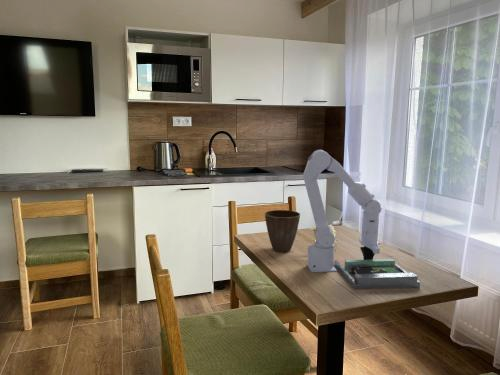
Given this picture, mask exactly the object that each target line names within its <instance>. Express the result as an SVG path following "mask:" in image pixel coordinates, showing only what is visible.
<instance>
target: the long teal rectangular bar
mask: <svg viewBox="0 0 500 375" xmlns="http://www.w3.org/2000/svg"><path fill="white" fill-rule="evenodd" d="M395 263H396V261H395V259H393V258H378V259H377V258H375V259H374V258H373V259H369V260H364V259H345V260H344V269H345V270H346V271H347V272H348V273H349V274H350V273H353V267H371V266H390V267H391V266H393V268H395Z"/></svg>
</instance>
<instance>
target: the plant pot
mask: <svg viewBox="0 0 500 375" xmlns="http://www.w3.org/2000/svg"><path fill="white" fill-rule="evenodd" d="M264 217H265V224H266V225H265V226H266V230H267V234H268V238H269V242H270V244H271V247H272V250H273V251H274V252H277V253H289V252H291V250H292V248H293V246H294V243H295V239H296V236H297V233H298V228H299V224H300V220H301V219H300V217H301V213H300V212H298V211H294V210H287V209H286V210H285V209H274V210H268V211H265V212H264Z"/></svg>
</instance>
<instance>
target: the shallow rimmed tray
mask: <svg viewBox="0 0 500 375" xmlns="http://www.w3.org/2000/svg"><path fill="white" fill-rule="evenodd" d="M333 266H334V267H335V268H336V270H337V271H339V273H341V276H343V277H344V278H345V280H347V282H348V283H349V284H350V285H351V287H352V288H353V289H354V290H378V289H380V290H382V289H408V288H409V289H411V288H414V289H416V288H420V287H421V282H420V281H419V280H418V279H419V277H418V275H416V274H415V273H414V272H407V271H406V270H405V269H404V268H402V266H400V265H398V264H397V263H396V262H395V268H394V269H396V270H397V271H399V272H400V273H376V274H355V275H354V277H352V275H351V274H350V273H348V272H347V271H346V270H345V266H343V265H342V264H341V263H340V262H339V261H338V259H334V264H333Z"/></svg>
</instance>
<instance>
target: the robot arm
mask: <svg viewBox="0 0 500 375" xmlns="http://www.w3.org/2000/svg"><path fill="white" fill-rule="evenodd" d="M324 170H327V171H329V172H333V173H334V174H335V175H336V176H337V177H338V178H339V179H340V180H341V181H342V182H343V183H344V184H345V186H346V187H347V188H348V189H347V193H348V195H349V196H351V198H352V199H353V200H354V201H355V202H356V203H357V205H358V206H360V207H361V209H362V210H363V211H362V218H361V221H362V222H361V235H360V236H359V243H360V245H361V246H360V249H359V250H360V251H361V253H362V256H363V260H369V259H374V257H375V255H376V254H377V255H378V254H380V253H381V252H380V251H381V250H380V247H379V245H381V242H380V241H379V240H378V236H379V220H380V219H379V216H380V213H381V212H382V207H381V203H380V202H379V201H378V200H377V199H376V198H375V195H374V194H373V193H371V192H370V191H369V190H368V189H367V188H366V187H367V185H366V184H365V183H362V182H360V181H355V180H354V179H353V178H352V176H351V175H350V174H349V173H348V172H347V171H346V169H344V167H343V166H342V165H341V163H340V162H339V161H338V160H336V159H335V158H333V157H332V156H331V155H330V154H329V153H328V152H327V151H325V150H323V149H316V150H314V151H313V152H312V154H310V156H309V157H308V159H307V163H306V166H305V169H304V171H303V173H302V174H303V175H302V176H303V177H302V178H303V181H304V185H305V190H306V193H307V197H308V200H309V205H310V207H311V208H310V209H311V212H312V216H313V220H314V223H315V224H314V225H315V232H314V233H315V234H314V235H315V237H316V241H315V242H314V244H313V245H308V248H307V263H306V266H307V267H308V269H309V270H310V272H311V273H326V272H337V271H338V269H337V267H336V266H335V265H334V260H335V240H336V239H335V235H334V234H333V231H332V228H331V227H330V225H329V221H328V219H327V214H326V211H325V206H324V203H323V199H322V195H321V190H320V188H319V182H318V178H319V176H320V174H322V172H323V171H324Z"/></svg>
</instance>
